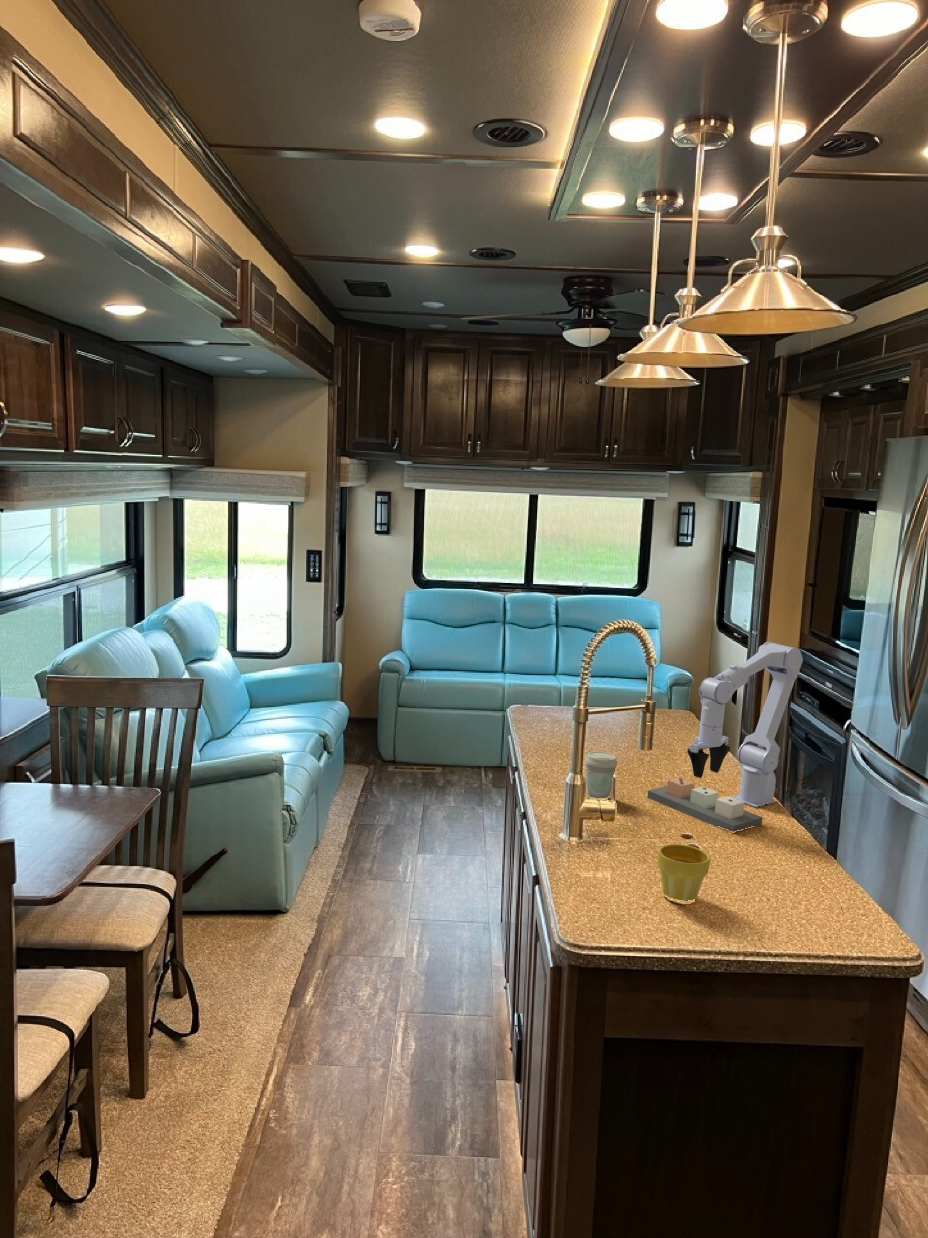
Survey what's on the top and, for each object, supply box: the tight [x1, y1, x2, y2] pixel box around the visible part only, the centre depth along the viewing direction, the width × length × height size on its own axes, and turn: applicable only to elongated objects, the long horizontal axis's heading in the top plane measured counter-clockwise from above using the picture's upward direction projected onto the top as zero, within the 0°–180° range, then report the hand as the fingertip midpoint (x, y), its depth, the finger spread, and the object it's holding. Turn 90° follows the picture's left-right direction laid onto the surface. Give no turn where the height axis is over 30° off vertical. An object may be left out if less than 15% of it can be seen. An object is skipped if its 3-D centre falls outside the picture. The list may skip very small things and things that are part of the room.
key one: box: [715, 795, 745, 819], centre depth 232 cm, size 5×5×4 cm
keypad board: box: [646, 785, 763, 832], centre depth 239 cm, size 12×28×2 cm, turn 37°
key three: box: [666, 777, 695, 799], centre depth 245 cm, size 5×5×4 cm
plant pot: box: [657, 843, 711, 901], centre depth 187 cm, size 10×10×10 cm
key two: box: [690, 786, 720, 809], centre depth 238 cm, size 5×5×4 cm
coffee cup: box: [585, 750, 618, 798], centre depth 242 cm, size 8×9×12 cm
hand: (706, 774), depth 237 cm, fingers open, 7 cm apart
